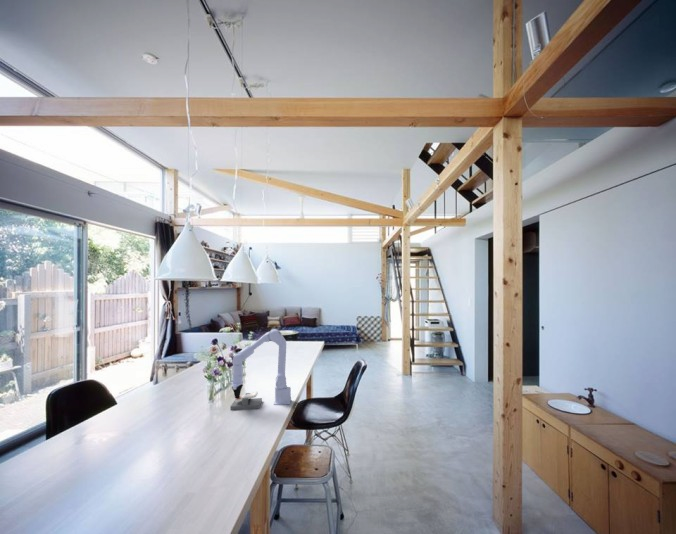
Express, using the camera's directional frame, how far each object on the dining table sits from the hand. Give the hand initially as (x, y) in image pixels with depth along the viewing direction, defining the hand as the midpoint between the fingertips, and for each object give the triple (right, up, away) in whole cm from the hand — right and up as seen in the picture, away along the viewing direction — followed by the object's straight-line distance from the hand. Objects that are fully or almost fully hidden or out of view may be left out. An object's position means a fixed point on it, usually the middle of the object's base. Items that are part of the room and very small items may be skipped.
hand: (237, 398), depth 189 cm
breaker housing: (+6, -5, 0) cm, 7 cm away
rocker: (+5, 0, 0) cm, 6 cm away
